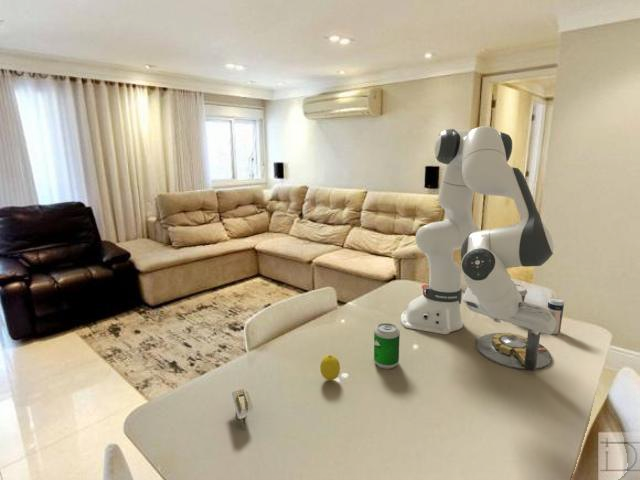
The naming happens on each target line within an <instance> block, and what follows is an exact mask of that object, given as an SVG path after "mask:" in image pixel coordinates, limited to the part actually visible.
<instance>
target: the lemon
mask: <svg viewBox="0 0 640 480" xmlns="http://www.w3.org/2000/svg"><path fill="white" fill-rule="evenodd" d="M340 371H341V365H340V361H339V360H338V358H337V357H336V356H335V355H332V354H327V355H325V356H324V357H323V358H322V360H321V362H320V374H321V376H322V377H323V378H324V379H325V380H327V381H330V382H331V381H333V380H336V379H337V378H338V377H339V375H340Z"/></svg>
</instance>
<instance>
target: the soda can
mask: <svg viewBox="0 0 640 480" xmlns="http://www.w3.org/2000/svg"><path fill="white" fill-rule="evenodd" d="M400 332H401V331H400V329H399V328H398V327H397V325H395V324H392V323H389V322H384V323H380V324H378V325H377V326H376V327H375V328H374V331H373V333H374V334H373V361H374V363H375V364H376V365H377V366H378V367H379V368H382V369H385V370H389V369H393V368H395V367H396V366H398V364H399V361H400V339H401V338H400V337H401V336H400V335H401V333H400Z"/></svg>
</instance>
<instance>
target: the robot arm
mask: <svg viewBox="0 0 640 480" xmlns="http://www.w3.org/2000/svg"><path fill="white" fill-rule="evenodd" d="M512 152H513V139H512V138H511V136H510V134H507V133H505V132H502V131H498V130H497V129H496V128H494V127H493V126H489V125H488V126H487V125H481V126H478V127H475V128H473V129H454V128H450V129H444V130H443V131H440V133H439V134H438V137H437V138H436V141H435V143H434V155H435V159H436V160H437V161H438V163H441V164H444V165H445V166H444V170H443V173H442V178H441V182H440V188H439V192H438V198H437V199H438V200H437V202H438V205H439V206H440V207H441V208H442V209H443V210H444V219H443V220H441V221H434V222H430V223H427V224H425V225H423V226H421V227H419V228H418V229H417V231H416V233H415V245H416V246H417V248H418V250H419V251H421V253H423V254H424V255H425V257H426V259H427V262H428V266H429V267H428V268H429V275H428V276H429V278H428V279H429V280H428V281H429V284H427V283H425V282H423V284H421V289H422V294H421V295H419V296H418V297H416V298H414V299H413V300H410V302H409V304H408V306H407V309H406V310H405V311H403V312H401V315H400V323H401V325H402V326H403V327H404V328H406V329H413V330H417V331H418V330H419V331H424V332H430V333H436V334H442V335H448V334H450V333H451V332H455V331H458V330H459V331H460V329H462V328H463V326H464V323H463V319H462V314H461V303H464V305H465V306H466V307H467V308H468V309H469V310H470V311H472V312H474V313H477V314H479V315H480V314H481V315H484V316H487V317H488V318H490V319H492V321H494V322H495V323H499V324H500V323H501V321H503V322H505V323H509V324H512V325H516V326H519V327H521V328H522V327H523V328H525V329H530V332H531V333H533V334H536V335H538V333H539V332H540V334H544V335H553V334H552V333H553V331H554V329H555V327H556V323H557V322H556V320H555V318H554V317H553V315H552V314H551V313H550V312H549V311H548V310H547V308H546V307H543V306H541V305H537V304H534V303H530V302H526V301H524V302H523V301H522V297H521V294H520V293H519V291H518V289H517V287H516V285H515V284H516V283H514V281H513V280H512V277H511V275H510V273H509V271H508V269H510V268H518V267H541V266H543V265H544V264H545V263H546V262H547V261H548V260H549V259H550V258H551V257H552V255H554V241H553V238H552V235H551V234H550V231H549V229H548V228H547V226H545V223H544V222H543V220H542V217H541V216H540V213H539V209H538V207H537V204H536V201H535V199H534V197H533V195H532V191H531V189H530V187H529V185H528V183H527V180H526V178H525V175H524V174H523V172H522V171H521V169H519V167H513V166H511V165H509V163H508V162H509V160H510V158H511V155H512ZM475 193H477V194H480V195H483V196H498V197H505V198H509V199H511V200H513V202H514V204H515V207H516V211H517V212H518V216H519V218H520V220H519V221H518V222H516V223H515V224H514V223H513V224H509V225H504V226H499V227H495V228H487V229H482V230H480V229H479V226H478V224H477V223H476V222H475V220H474V219H473V209H472V208H473V201H474V196H475ZM458 250H460V261H461V265H460V264H459V263H457V262H456V261H455V258H454V251H458ZM462 276H463V278H464V281H465V282H466V284H467V288H466V290H465V292H464V295H463V289H462Z"/></svg>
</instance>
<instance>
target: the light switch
mask: <svg viewBox="0 0 640 480" xmlns="http://www.w3.org/2000/svg"><path fill="white" fill-rule="evenodd" d="M231 397H232V401H233V403H234V407H235V413H236V415H237V418H238V419H239V420H241V421H240V424H241V428H242V431H244V430H245V427H244V418H246V417H247V416H248V415H249V414H250V413H252V411H253V410H254V405H253V402H252V400H251V396H250V393H249V391H246V390H245V388H239V389H237V390H235V391H232V392H231ZM240 397H243V398H244V408H243V407H242V404H243V403H242V401H241V399H240Z"/></svg>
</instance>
